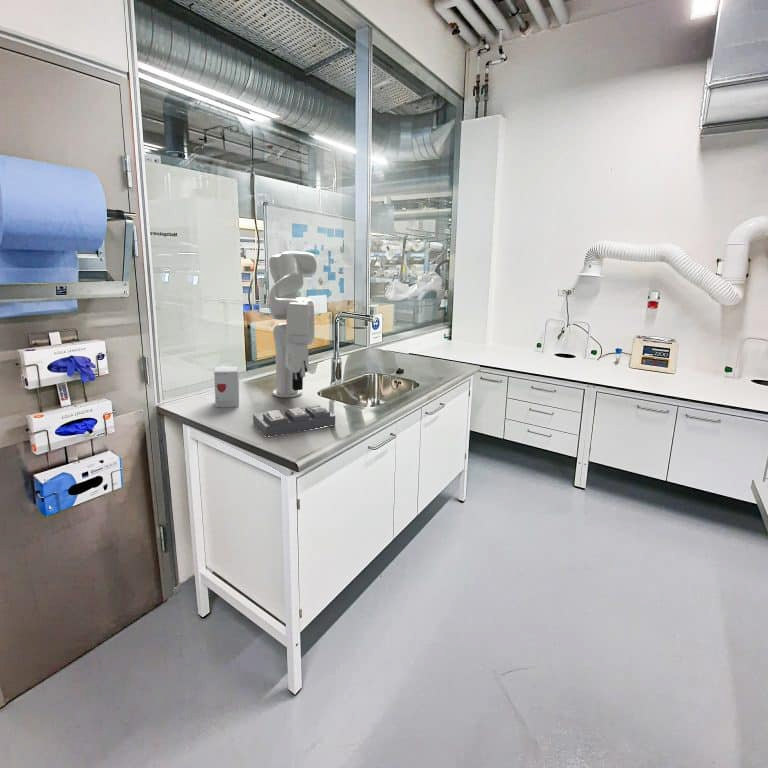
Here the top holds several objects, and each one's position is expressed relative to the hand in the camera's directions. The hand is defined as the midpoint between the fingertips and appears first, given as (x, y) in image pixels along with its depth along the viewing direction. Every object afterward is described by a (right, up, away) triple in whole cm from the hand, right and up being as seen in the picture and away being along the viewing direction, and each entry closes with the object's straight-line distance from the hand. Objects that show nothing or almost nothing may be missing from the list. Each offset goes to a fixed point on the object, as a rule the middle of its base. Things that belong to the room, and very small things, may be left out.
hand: (297, 389), depth 159 cm
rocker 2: (+6, -8, +6) cm, 12 cm away
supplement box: (-33, -7, +25) cm, 42 cm away
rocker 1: (-7, -10, -2) cm, 12 cm away
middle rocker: (-1, -9, +2) cm, 9 cm away
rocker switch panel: (-2, -13, +5) cm, 14 cm away
